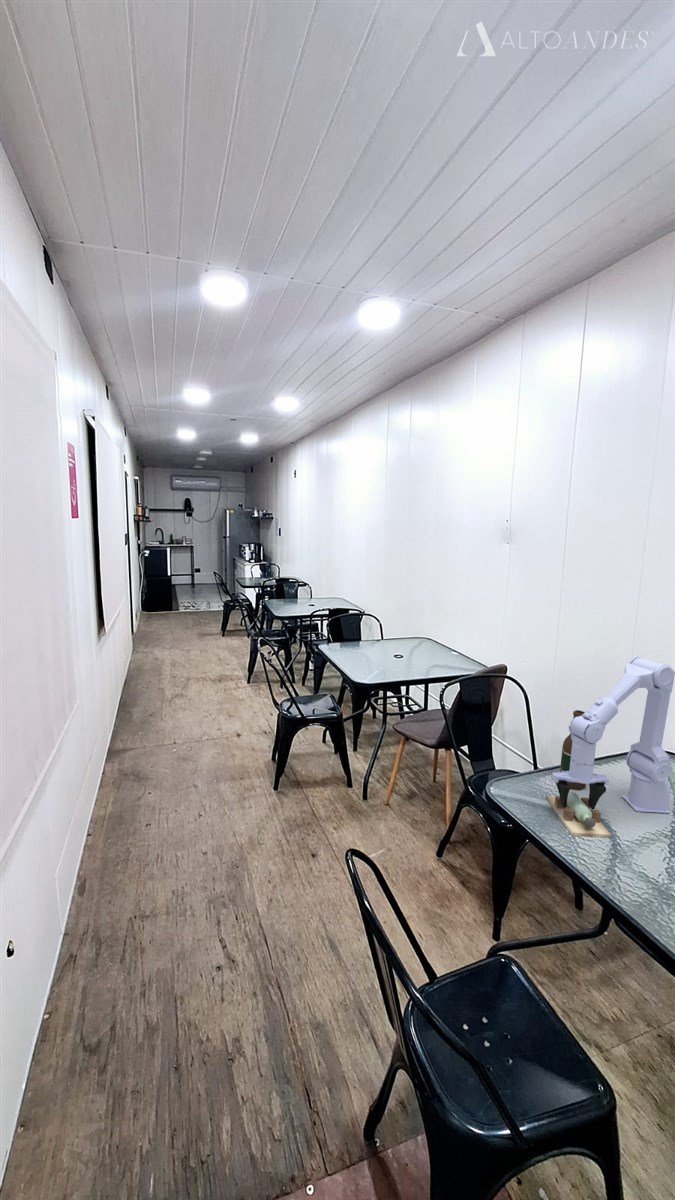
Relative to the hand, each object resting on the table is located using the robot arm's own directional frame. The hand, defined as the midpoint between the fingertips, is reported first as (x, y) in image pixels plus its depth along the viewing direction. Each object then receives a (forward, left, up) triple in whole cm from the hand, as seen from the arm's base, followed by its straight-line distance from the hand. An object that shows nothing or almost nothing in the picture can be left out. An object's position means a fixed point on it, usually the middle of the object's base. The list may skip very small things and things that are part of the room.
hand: (577, 806), depth 133 cm
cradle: (0, 0, -3) cm, 3 cm away
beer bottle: (-6, -18, -3) cm, 19 cm away
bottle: (0, +1, -2) cm, 3 cm away
